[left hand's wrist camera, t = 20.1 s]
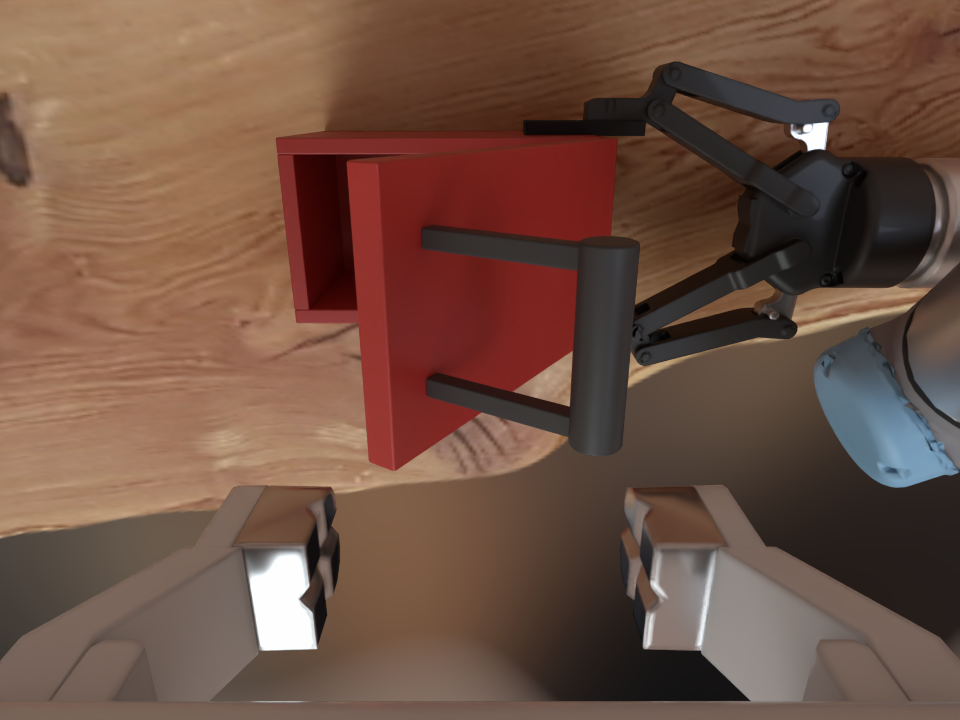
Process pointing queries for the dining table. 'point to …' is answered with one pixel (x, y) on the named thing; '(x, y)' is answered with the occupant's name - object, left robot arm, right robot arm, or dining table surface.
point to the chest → (348, 205)
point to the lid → (490, 292)
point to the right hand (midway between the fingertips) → (521, 222)
